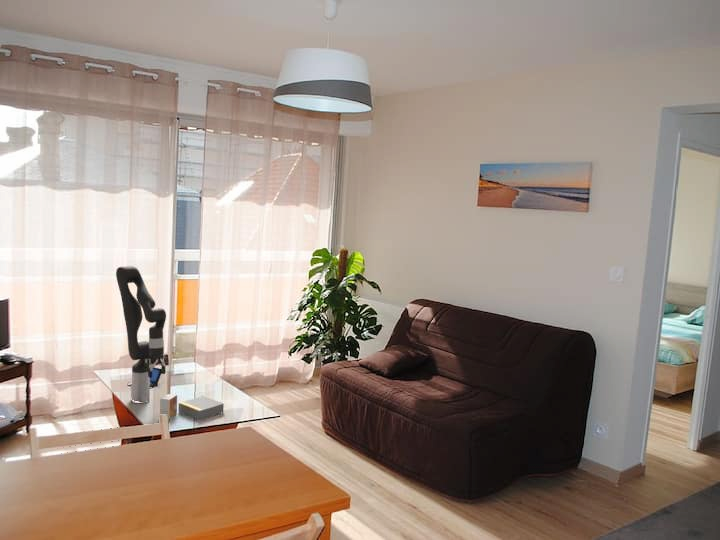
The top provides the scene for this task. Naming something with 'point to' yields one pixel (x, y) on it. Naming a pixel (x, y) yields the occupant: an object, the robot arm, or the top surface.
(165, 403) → the small box
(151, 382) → the laptop
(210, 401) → the loading dock
